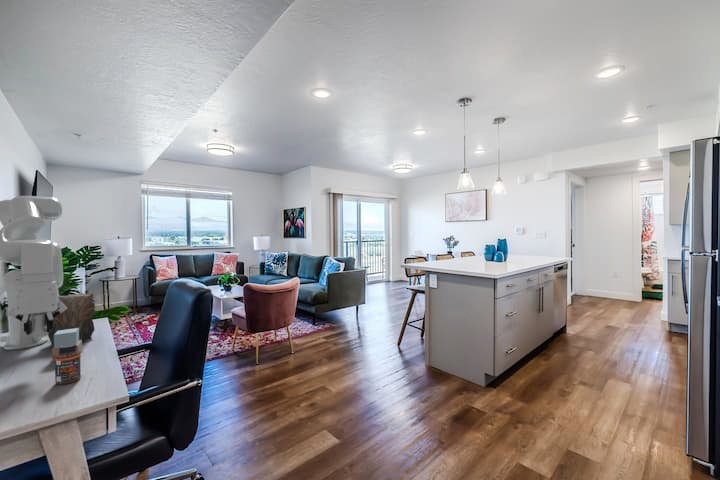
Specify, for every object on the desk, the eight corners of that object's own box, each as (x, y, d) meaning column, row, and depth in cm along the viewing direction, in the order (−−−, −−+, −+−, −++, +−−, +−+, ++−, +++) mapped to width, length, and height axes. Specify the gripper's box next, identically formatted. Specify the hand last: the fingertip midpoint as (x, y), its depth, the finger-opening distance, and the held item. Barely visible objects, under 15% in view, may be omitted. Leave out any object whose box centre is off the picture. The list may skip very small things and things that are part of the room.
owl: (45, 345, 131) (43, 297, 131) (77, 335, 144) (75, 291, 143) (71, 347, 129) (69, 298, 129) (101, 337, 142) (100, 292, 141)
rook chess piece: (27, 339, 104) (26, 315, 104) (33, 334, 108) (32, 311, 108) (45, 337, 107) (45, 313, 106) (51, 333, 110) (50, 310, 110)
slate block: (54, 348, 114) (53, 334, 114) (58, 343, 119) (57, 330, 119) (76, 345, 118) (75, 331, 118) (79, 340, 123) (78, 327, 122)
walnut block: (53, 362, 114) (52, 349, 114) (57, 356, 120) (57, 343, 120) (78, 358, 118) (78, 345, 118) (82, 352, 124) (81, 339, 124)
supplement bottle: (59, 387, 95) (57, 350, 95) (52, 382, 99) (51, 346, 98) (84, 379, 100) (83, 344, 100) (77, 375, 104) (76, 340, 103)
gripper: (-4, 282, 99) (-2, 340, 100) (69, 278, 108) (70, 331, 109) (5, 278, 105) (7, 333, 106) (73, 275, 114) (74, 325, 115)
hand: (39, 331), depth 107 cm, fingers closed on rook chess piece, 4 cm apart
